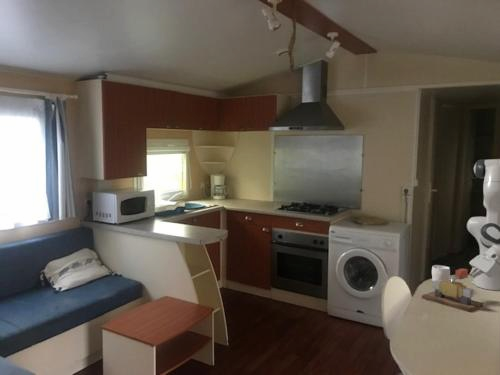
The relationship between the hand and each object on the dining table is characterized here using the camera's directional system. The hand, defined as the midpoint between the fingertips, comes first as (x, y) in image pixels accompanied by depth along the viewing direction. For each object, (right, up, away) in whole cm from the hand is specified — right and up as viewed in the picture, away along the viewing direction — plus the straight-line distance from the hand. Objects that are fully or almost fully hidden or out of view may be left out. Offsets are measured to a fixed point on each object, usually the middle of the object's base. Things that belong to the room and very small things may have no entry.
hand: (471, 276), depth 199 cm
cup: (-5, -12, +22) cm, 25 cm away
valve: (-10, -11, -1) cm, 15 cm away
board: (-10, -13, 0) cm, 16 cm away
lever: (-6, -2, +2) cm, 6 cm away
